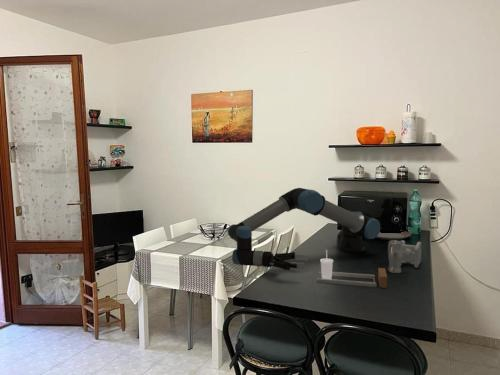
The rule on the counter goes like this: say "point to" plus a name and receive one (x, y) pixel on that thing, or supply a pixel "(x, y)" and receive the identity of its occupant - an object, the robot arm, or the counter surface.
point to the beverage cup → (326, 267)
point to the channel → (381, 277)
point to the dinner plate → (393, 236)
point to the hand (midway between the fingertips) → (306, 261)
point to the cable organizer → (411, 254)
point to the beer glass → (395, 256)
